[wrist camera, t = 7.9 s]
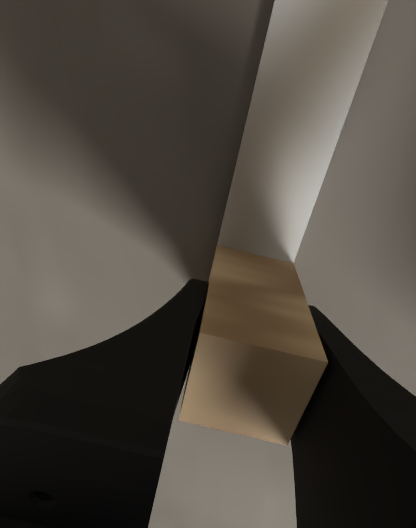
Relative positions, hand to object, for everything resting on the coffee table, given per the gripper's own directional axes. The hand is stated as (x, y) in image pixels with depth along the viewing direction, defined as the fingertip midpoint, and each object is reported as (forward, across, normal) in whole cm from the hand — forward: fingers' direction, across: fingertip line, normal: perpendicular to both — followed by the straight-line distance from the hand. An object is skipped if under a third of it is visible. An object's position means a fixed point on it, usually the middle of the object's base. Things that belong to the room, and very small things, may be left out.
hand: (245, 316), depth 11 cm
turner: (+3, 0, -5) cm, 6 cm away
